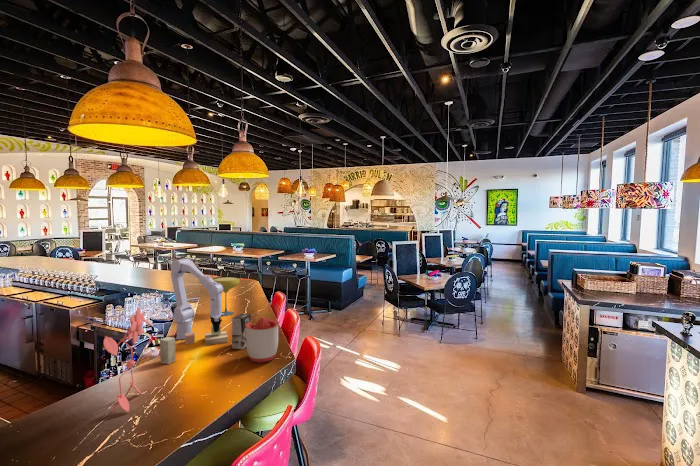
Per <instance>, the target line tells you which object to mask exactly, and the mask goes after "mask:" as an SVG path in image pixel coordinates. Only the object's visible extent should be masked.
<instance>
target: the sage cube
mask: <svg viewBox="0 0 700 466" xmlns="http://www.w3.org/2000/svg"><path fill="white" fill-rule="evenodd" d="M210 326H211V328H210V333H211V334H212V335H219V334H221V325H220V326H219V331H218V332H214V329H213V325H212V324H211V325H210Z"/></svg>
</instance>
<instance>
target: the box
mask: <svg viewBox="0 0 700 466" xmlns="http://www.w3.org/2000/svg"><path fill="white" fill-rule="evenodd" d="M159 351H160V352H159V353H160V354H159V355H160V356H159V357H160V364H166V365H170V364H173V362H176V361H177V359H176V356H177V354H176V337H171V336H166V337H163V338H161V339H159Z"/></svg>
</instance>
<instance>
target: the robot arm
mask: <svg viewBox="0 0 700 466" xmlns="http://www.w3.org/2000/svg"><path fill="white" fill-rule="evenodd" d="M169 266H170V277H171V278H170V279H171V282H172V287H173V288H172V289H173V291H174V297H175V302H176V306H175V308H174V309H173V312H174V313H173V319H174V321H175V322H176V323H177V325H176V326H177V327H176V329H177V330H176V331H177V332H176V333H177V334H176V337H175V341H176V340H185V333H193V331H192V320H193V317H194V316H195V310H194V309H193V307H192V305H191V304H190V303H189V302H188V297H187V293H186V288H185V283H184V279H183V275H185V273H186V272H188V273H190V274H191V275H192V276H194V277H195V278H197V279H198V281H199V284H200V285H201V286H203V287H204V288H205V289H206V290H207V294H208V295H209V299H210V301H209V303H210V307H209V309H210V311H209V312H210V313H209V317H210V323H211V325H213V329H214V332H218V331H219V326H221V323H222V321H223V319H222V316H221V315H224V313H222V312H223V311H222V293H224V292H223V290H224V288H223V286H222V284H220V283H217V282H215V281H214V280H213V278H212V277H211V275H208V274H204V273H203V272H202V271H201V270H200V269H199V268H198V267H197V266H196V265H195V263H194V261H193V260H192V259H191V258H183V259H182V258H181V259H175V260H173V261H172V262H171V263H170V265H169Z"/></svg>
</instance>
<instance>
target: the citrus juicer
mask: <svg viewBox="0 0 700 466" xmlns="http://www.w3.org/2000/svg"><path fill="white" fill-rule="evenodd" d="M279 324H280V322H279V321H278V320H276V319H271V318H264V317H261V318H260V319H258V321H257V322H256V324H253V323H252V321H251V322H248V323H247V324H246V351H247V354H248V357H249V359H250V361H251V362H254V363H258V364H260V363H261V364H262V363H266V362H270V361H272V360H274V358H275V357H276V355H277V350H278V347H279Z"/></svg>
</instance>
